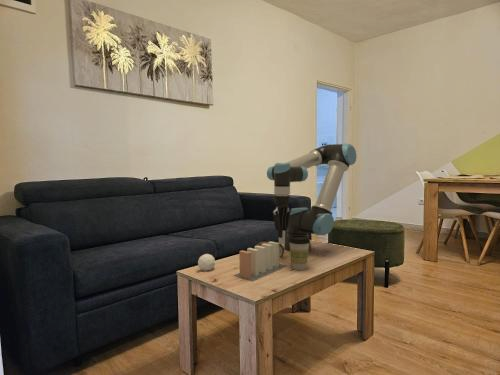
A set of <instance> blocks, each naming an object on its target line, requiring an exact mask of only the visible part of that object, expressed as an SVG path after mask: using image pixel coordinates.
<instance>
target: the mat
mask: <svg viewBox="0 0 500 375" xmlns="http://www.w3.org/2000/svg"><path fill="white" fill-rule="evenodd" d="M286 267H288V265H287V264H283V263H282V264H281V263H279V266H278V267H274V266H273V269H271V270H269V269H266V272H264V273H262V272H259V275H257V276H255V275H251V278H250V279H246V278H243V277H240V272H239V273H236V274H234V275H232V276H233V277H236V278H239V279H242V280H246V281H249V282H255V281H258V280H259V279H261V278H264V277H266V276H268V275H271V274H273V273H275V272H277V271H279V270H282V269H284V268H286Z"/></svg>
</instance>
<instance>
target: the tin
mask: <svg viewBox="0 0 500 375" xmlns="http://www.w3.org/2000/svg"><path fill="white" fill-rule="evenodd" d="M268 242H269V241H260V242H258V243H257V244H256V245H255V246H261V244H268ZM276 243H279V241H278V242H276ZM284 254H285V249H284V244H279V259H281V258H282V257H283V255H284Z"/></svg>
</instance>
